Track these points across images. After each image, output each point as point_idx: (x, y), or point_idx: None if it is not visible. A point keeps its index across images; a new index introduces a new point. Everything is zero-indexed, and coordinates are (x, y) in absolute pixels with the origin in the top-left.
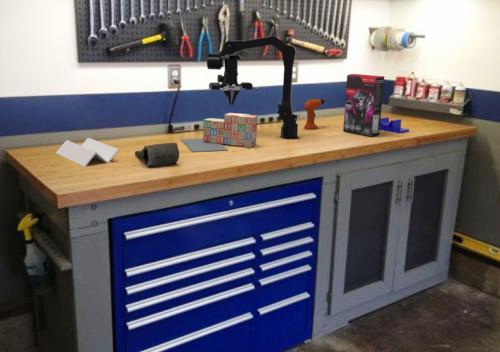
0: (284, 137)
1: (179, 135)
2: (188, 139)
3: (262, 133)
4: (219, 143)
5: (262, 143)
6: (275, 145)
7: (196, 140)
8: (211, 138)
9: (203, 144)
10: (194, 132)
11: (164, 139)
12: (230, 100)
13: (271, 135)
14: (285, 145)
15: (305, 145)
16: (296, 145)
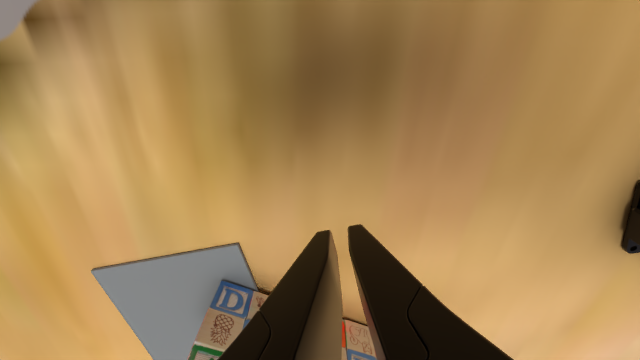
0: (627, 241)
1: (35, 161)
2: (126, 273)
3: (569, 80)
4: None
5: None
6: None
7: (168, 291)
8: None
9: None
10: (86, 56)
11: (12, 256)
12: (337, 349)
13: (596, 150)
14: (543, 352)
15: (628, 353)
16: (590, 353)
